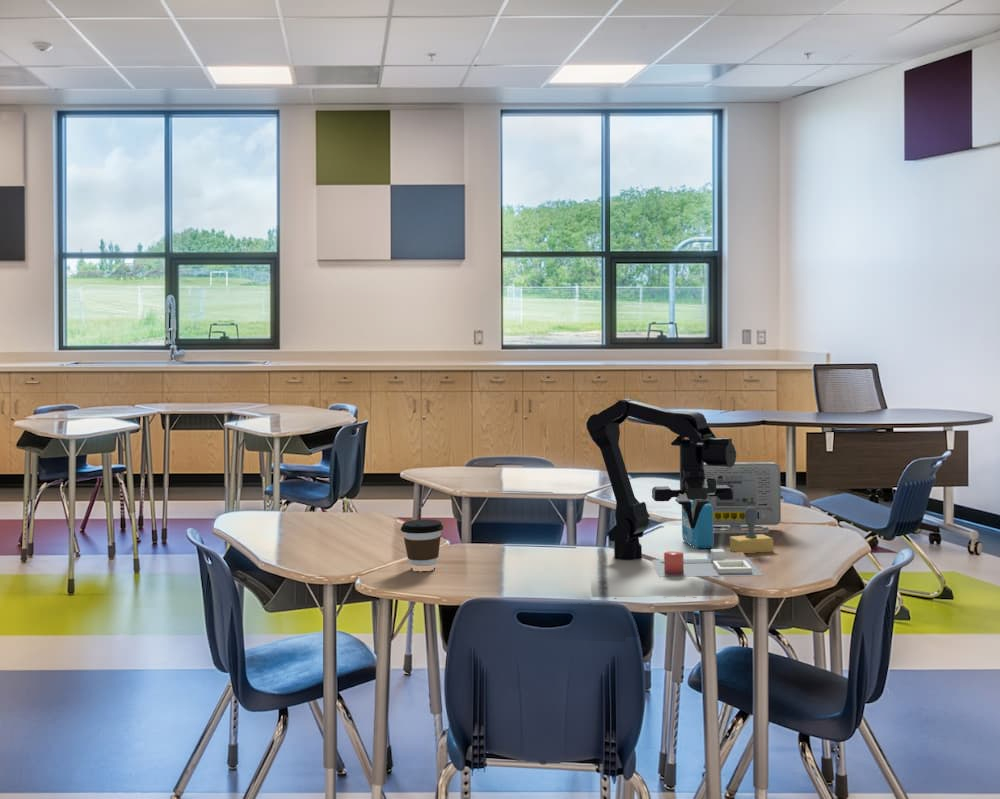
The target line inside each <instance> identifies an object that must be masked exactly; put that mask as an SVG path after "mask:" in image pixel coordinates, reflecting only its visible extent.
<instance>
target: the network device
mask: <svg viewBox="0 0 1000 799" xmlns="http://www.w3.org/2000/svg"><path fill="white" fill-rule="evenodd" d="M704 473H705V478H706V479H707V478H715V479H716V485H727V486H728V487H730V488H731V489H732V490H733V500H720V499H719V498H718V497H717V496H712V497H709V498H708V501H709V504H711V505H712V508H713V527H724V528H723V529H728V530H713V532H714V533H713V534H748V533H749V530H743V528H744V529H746V528H747V529H748V525H747V523H746V520H745V517H744V512H745V509H746V508H748V507H754V508H755V509H756V510H757V513H758V517H757V521H756V523H755V526H754V534H767V533H769V532H770V529H769V528H768V526H778V525H779V524H780V523H781V521H782V520H781V519H782V513H781V512H782V511H781V510H782V509H781V506H782V505H781V504H782V502H781V501H782V500H781V468H780V465H779V464H778V463H776V462H774V461H755V462H753V461H751V462H748V461H747V462H746V461H743V462H742V461H741V462H736V461H735V463H734V465H733V466H732V467H720V466H708V465H707V464H706V463H705V462H704ZM725 527H727V528H725ZM729 528H730V529H729ZM762 528H763V529H762ZM755 529H762V530H755Z"/></svg>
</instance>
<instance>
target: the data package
mask: <svg viewBox="0 0 1000 799" xmlns="http://www.w3.org/2000/svg"><path fill="white" fill-rule="evenodd" d="M689 501H691V510H692V506H693V500H689ZM713 531H714V528H713V508H712V505H711V504H705V505H704V506H703V508H702V510H701V512H700V514H699V517H698V520H697V523H696V526H695V528H694V529H691V528H690V525H689V522H688V519H687V517H686V514H685V511H684V509H683V507H682V506H681V532H682V533H681V536H682V540H684V541H686V542H687V543H689V544H691V545H692V546H691V545H690V546H691V547H693V546H694V547H696V548H703V549H713V547H714V544H715V542H714V533H713ZM684 541H683V542H684ZM687 543H686V544H687ZM689 544H688V545H689ZM694 547H693V548H694ZM696 548H695V549H696Z"/></svg>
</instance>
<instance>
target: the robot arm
mask: <svg viewBox="0 0 1000 799" xmlns="http://www.w3.org/2000/svg"><path fill="white" fill-rule="evenodd" d="M629 417H631V418H634V419H638V420H641V421H645V422H648V423H652V424H655V425H658V426H659V425H660V426H662V427H664V428H666V429H668V430H669V431H670V432H672V433H673V434H676V435H677V436H676V438H675V439H674V440H672V442H671V443H670V445H671V446H676V447H679V489H671V488H670V487H669V486H667V485H666V486H663V485H662V486H653V487H652V489H651V498H652V499H653V501H655V502H669V501H670V500H671V499H672V498H675V502H676V503H677V504H678V505H681V508H682V507H683V509H684V511H685V514H686V517H687V519H688V522H689V525H690V528H691V529H694V528H695V526H696V523H697V520H698V517H699V514H700V512H701V510H702V508H703V506H704V505H705V504H709V501H708V498H709V497H712V496H717V497H718V498H719V499H720V500H733V490H732V489H731V488H730V487H728V486H727V485H716V479H715V478H707V479H706V478H705V473H704V463H706V464H707V465H708V466H720V467H732V466H733V465H734V463H735V462H736V459H737V450H736V449H735V448H736V447H735V445H734V444H733V439H732V438H731V437H724V438H719V437H716V435H715V434H714V433H713V431H712V429H711V427H710V426H709V425H708V422H707V418H706V417H705V415H704V414H703V413H701V412H699V411H686V410H684V411H676V410H670V409H666V408H663V407H659V406H656V405H652V404H648V403H644V402H640V401H635V400H634V399H633V398H624V399H619V400H618V401H617V402H615V403H614V404H612V405H610V406H608V407H607V408H606V409H604V410H601V411H600V412H599V413H594V414H592V415H590V416H589V417H588V419H587V421H586V429H587V431H588V434H589V437H590V439H591V440H592V441H593V443H595V445H596V446H597V447H598V448H599V450H600V453H601V456H602V459H603V463H604V466H605V469H606V473H607V476H608V479H609V481H610V486H611V488H612V489H611V490H612V493H613V495H614V498H615V503H616V504H615V505H616V506H615V512H614V517H615V525H614V526H613V527H612V528H611V529H610V530H609V531H608V532H607V536H608V538H609V541H610V542H613V553H614V554H613V556H614V560H622V561H623V560H624V561H631V560H633V561H634V560H639V559H642V558H643V556H642V552H643V551H642V549H643V548H642V547H643V546H642V544H641V543H640V539H639V538H642V537H643V535H644V532H645V531H646V530H647V529H648V526H649V525H650V519H649V518H651V516H650V514H649V513H648V509H647V503H646V502H645V501H642V502H640V501H639V500H638V499H637V498H636V496H635V494H634V493H635V492H634V490H633V487H632V484H631V481H630V478H629V474H628V470H627V467H626V465H625V460H624V458H623V455H622V451H621V449H620V448H621V447H620V444H619V442H620V436H621V431H620V425H621V424H623V423H624V422H625V421H626V420H627V419H628V418H629ZM689 500H693V506H692V510H691V501H689Z"/></svg>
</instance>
